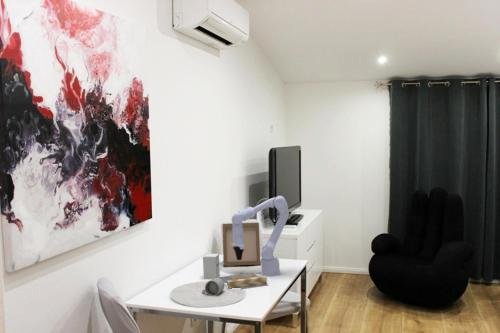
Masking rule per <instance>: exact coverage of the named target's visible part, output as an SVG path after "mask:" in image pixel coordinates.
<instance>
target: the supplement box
mask: <svg viewBox="0 0 500 333" xmlns="http://www.w3.org/2000/svg"><path fill="white" fill-rule="evenodd" d="M202 264H203V265H202V266H203V279H204V280H212V279H214V278H218V277H221V276H220V275H221V274H220V254H219V253H206V254H205V255H204V256H202Z"/></svg>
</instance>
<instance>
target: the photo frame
mask: <svg viewBox="0 0 500 333" xmlns="http://www.w3.org/2000/svg"><path fill="white" fill-rule="evenodd" d="M232 224H233V223H232V222H231V223H222V252H223V253H222V256H223V257H222V260H223V262H222V263H223V267H224V266H249V265H250V266H253V265H257V266H258V265H261V248H260V246H261V244H260V223H259V222H242V226H243V241H244V251H243V254H242V259H241V260H237V258H236V254H235V251H234V249H233V247H235V246H234V245H233V246H232V245H231V244H233V229H232V228H233V225H232Z"/></svg>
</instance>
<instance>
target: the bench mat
mask: <svg viewBox="0 0 500 333" xmlns="http://www.w3.org/2000/svg"><path fill="white" fill-rule="evenodd" d="M251 273H252V274H253V275H255V276H256V277H259V276H258V275H256V274H255V272H251ZM218 278H220V279H222V280H223V282H224V283H227V281H229V280H230V275H225V276H219V277H218ZM268 286H269V284H268V283H267V284H264V285H257V286H249V287H242V288H241V289H240V290H246V289H252V288H261V287H268Z"/></svg>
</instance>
